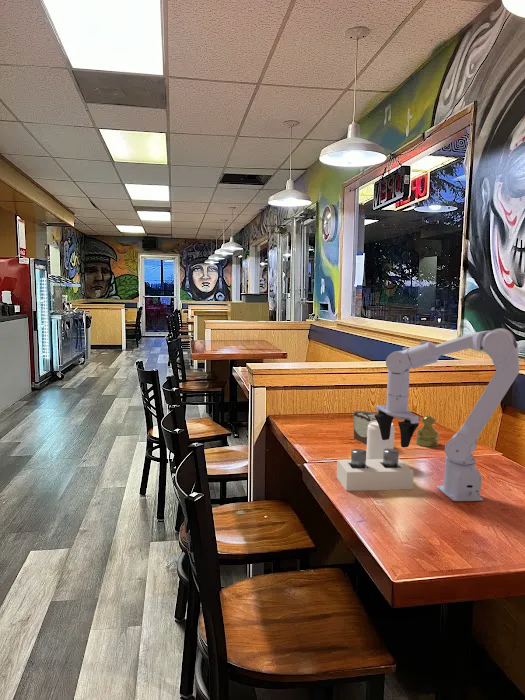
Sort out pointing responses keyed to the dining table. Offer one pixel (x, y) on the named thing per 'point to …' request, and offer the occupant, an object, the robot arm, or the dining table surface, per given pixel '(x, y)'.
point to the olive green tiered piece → (427, 433)
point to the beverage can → (378, 441)
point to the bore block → (374, 476)
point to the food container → (362, 425)
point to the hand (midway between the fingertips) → (394, 443)
